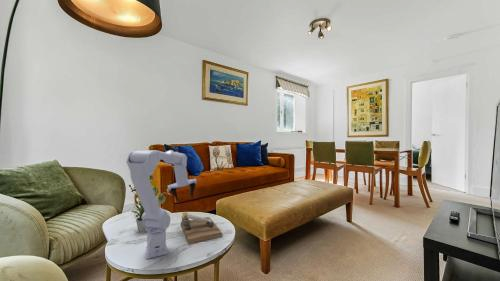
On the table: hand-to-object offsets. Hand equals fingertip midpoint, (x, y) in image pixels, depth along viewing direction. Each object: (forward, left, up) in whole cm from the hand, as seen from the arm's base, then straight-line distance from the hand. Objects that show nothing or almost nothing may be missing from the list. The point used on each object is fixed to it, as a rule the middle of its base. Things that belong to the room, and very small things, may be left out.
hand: (184, 198), depth 108 cm
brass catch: (0, -1, -11) cm, 11 cm away
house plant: (+4, +19, -16) cm, 25 cm away
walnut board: (-8, -7, -16) cm, 19 cm away
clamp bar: (-8, -6, -10) cm, 14 cm away
